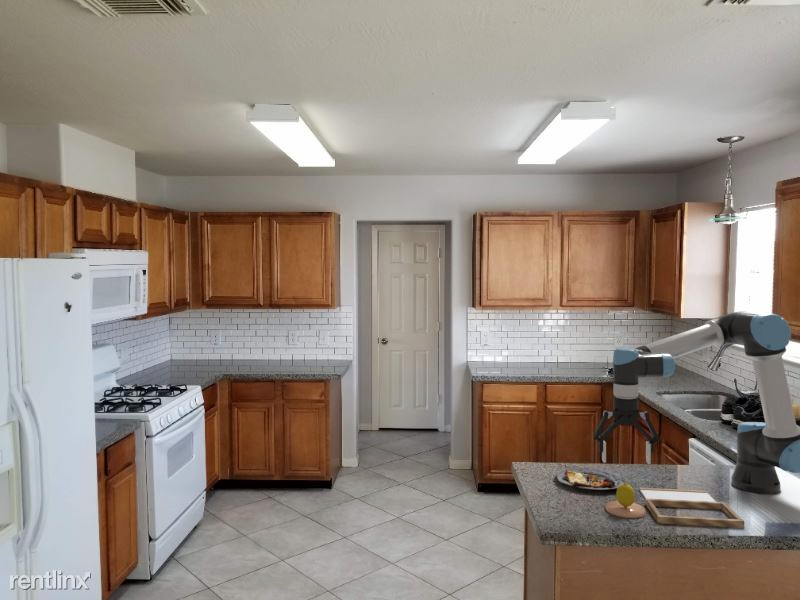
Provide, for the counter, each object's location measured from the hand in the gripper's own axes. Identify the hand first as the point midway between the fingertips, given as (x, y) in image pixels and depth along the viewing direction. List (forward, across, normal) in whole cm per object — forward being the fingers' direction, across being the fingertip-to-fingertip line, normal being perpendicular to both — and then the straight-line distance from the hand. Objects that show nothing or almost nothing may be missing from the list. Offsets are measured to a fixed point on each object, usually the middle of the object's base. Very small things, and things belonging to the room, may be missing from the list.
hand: (626, 462), depth 189 cm
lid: (+16, -20, -14) cm, 29 cm away
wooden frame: (+16, -20, +1) cm, 25 cm away
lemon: (+15, 0, 0) cm, 15 cm away
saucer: (+16, 0, 0) cm, 16 cm away
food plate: (+16, +7, -26) cm, 31 cm away
